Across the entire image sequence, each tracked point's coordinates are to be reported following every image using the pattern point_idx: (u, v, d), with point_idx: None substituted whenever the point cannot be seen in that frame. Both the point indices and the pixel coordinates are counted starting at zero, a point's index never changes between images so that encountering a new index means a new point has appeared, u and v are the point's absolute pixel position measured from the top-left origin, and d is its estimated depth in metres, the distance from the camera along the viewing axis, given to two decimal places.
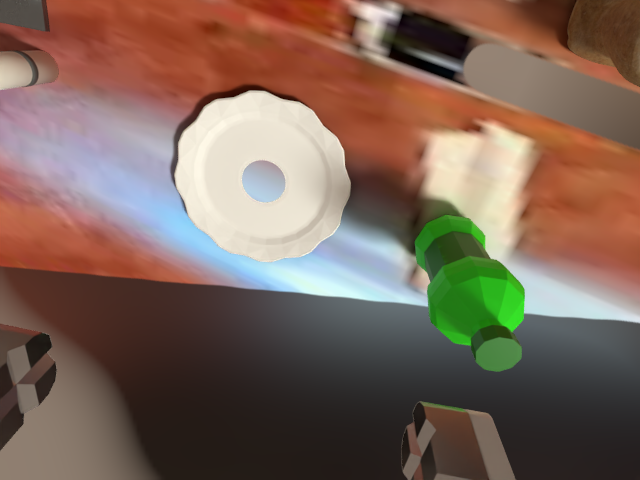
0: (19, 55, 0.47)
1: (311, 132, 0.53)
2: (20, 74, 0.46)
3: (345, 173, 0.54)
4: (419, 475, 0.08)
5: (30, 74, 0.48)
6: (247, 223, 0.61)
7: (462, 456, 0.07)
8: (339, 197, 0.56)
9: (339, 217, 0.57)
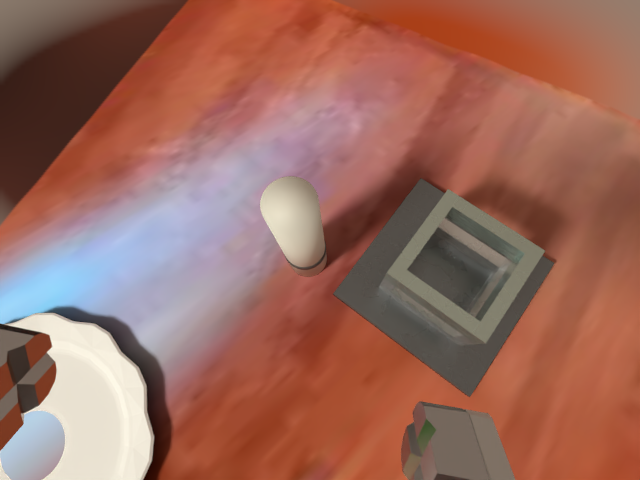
0: (312, 264, 0.37)
1: None
2: (287, 257, 0.35)
3: None
4: (419, 475, 0.08)
5: (289, 260, 0.37)
6: None
7: (462, 456, 0.07)
8: None
9: None
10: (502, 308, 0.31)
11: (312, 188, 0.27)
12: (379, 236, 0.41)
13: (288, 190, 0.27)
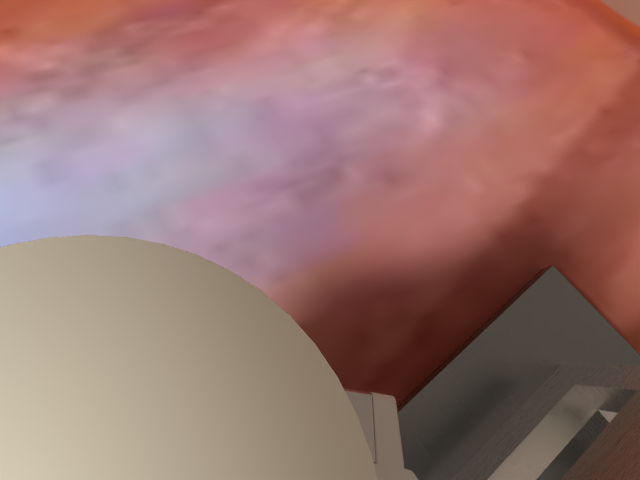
0: None
1: None
2: None
3: None
4: None
5: None
6: None
7: None
8: None
9: None
10: None
11: (350, 441, 0.02)
12: (438, 382, 0.17)
13: (94, 395, 0.02)
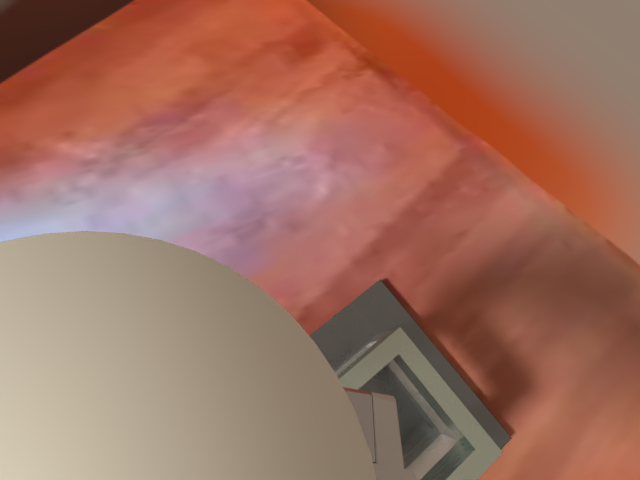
0: None
1: None
2: None
3: None
4: None
5: None
6: None
7: None
8: None
9: None
10: None
11: (348, 439, 0.02)
12: None
13: (90, 393, 0.02)
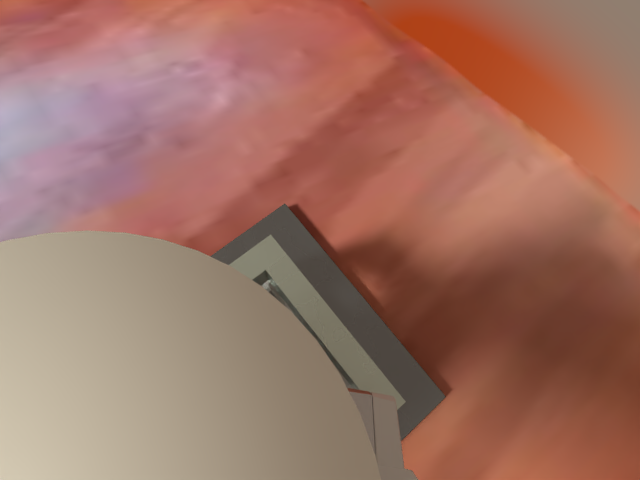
0: None
1: None
2: None
3: None
4: None
5: None
6: None
7: None
8: None
9: None
10: None
11: (352, 439, 0.02)
12: None
13: (93, 392, 0.02)
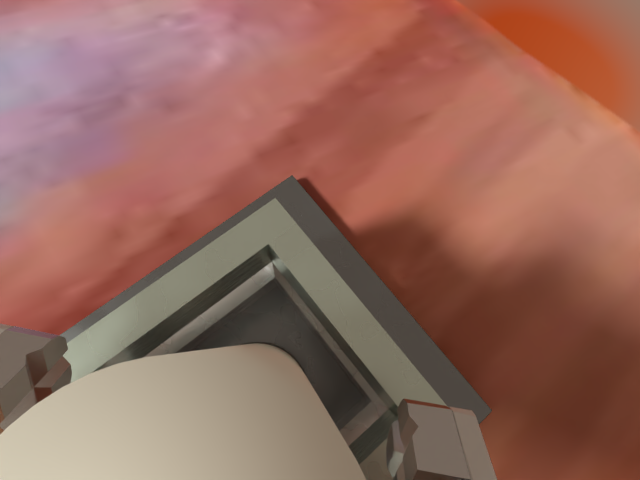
0: None
1: None
2: None
3: None
4: (402, 472, 0.08)
5: None
6: None
7: (443, 453, 0.07)
8: None
9: None
10: None
11: None
12: (168, 265, 0.20)
13: (188, 476, 0.04)
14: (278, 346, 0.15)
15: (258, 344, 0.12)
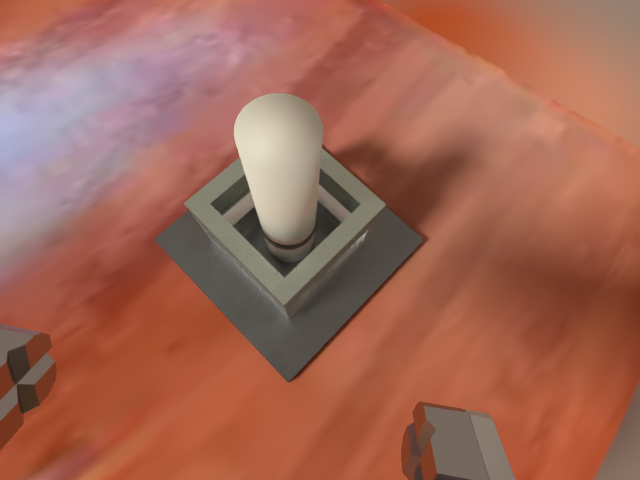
0: (295, 242, 0.27)
1: None
2: (264, 227, 0.26)
3: None
4: (419, 475, 0.08)
5: (265, 233, 0.28)
6: None
7: (462, 456, 0.07)
8: None
9: None
10: (316, 265, 0.24)
11: (316, 114, 0.18)
12: None
13: (280, 112, 0.18)
14: None
15: None
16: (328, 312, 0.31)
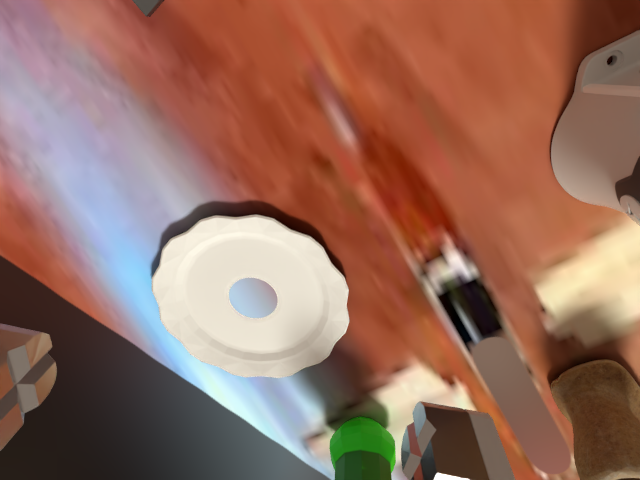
0: None
1: (331, 300, 0.49)
2: None
3: (331, 347, 0.52)
4: (419, 475, 0.08)
5: None
6: (206, 316, 0.53)
7: (462, 456, 0.07)
8: (309, 357, 0.53)
9: (295, 371, 0.54)
10: None
11: None
12: None
13: None
14: None
15: None
16: None
